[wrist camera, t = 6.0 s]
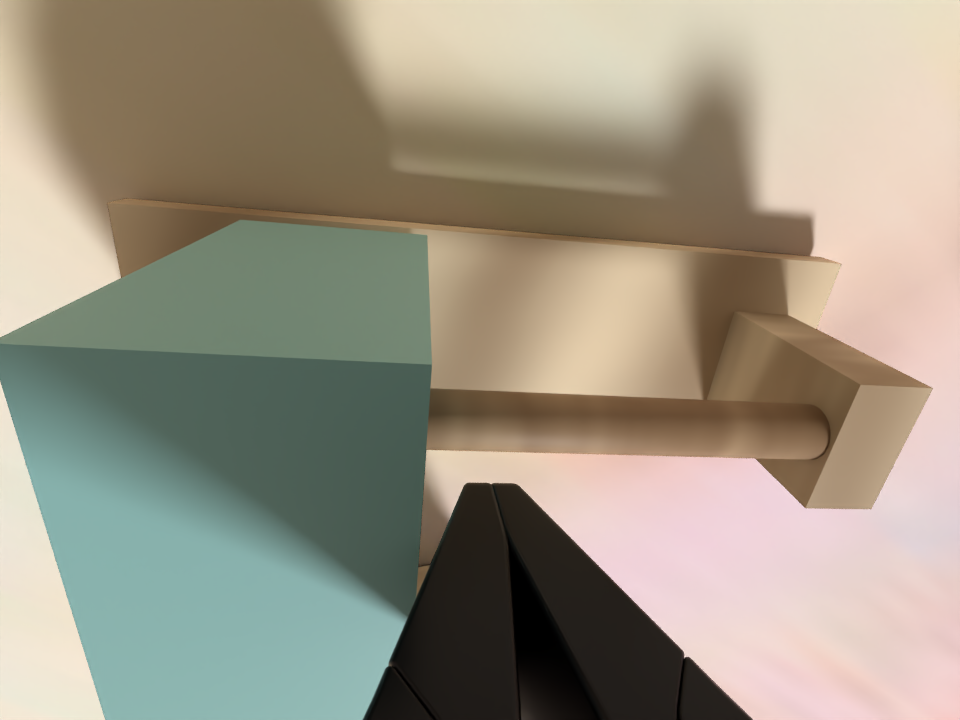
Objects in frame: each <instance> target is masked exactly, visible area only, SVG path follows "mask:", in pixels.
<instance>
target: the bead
mask: <svg viewBox="0 0 960 720" xmlns="http://www.w3.org/2000/svg"><path fill="white" fill-rule="evenodd" d="M431 372H432V352H431V324H430V297H429V270H428V243H427V235H422V234H410V233H398V232H385V231H373V230H361V229H349V228H336V227H324V226H312V225H300V224H287V223H275V222H263V221H251V220H239V221H237V222H235V223H233V224H231V225H229V226H227V227H224V228H222V229H220V230H218V231H216V232H214V233H212V234H210V235H208V236H206V237H204V238H202V239H200V240H198V241H196V242H194V243H192V244H190V245H188V246H186V247H184V248H182V249H180V250H178V251H176V252H174V253H171V254H169V255H167V256H165V257H163V258H161V259H159V260H157V261H155V262H153V263H151V264H149V265H147V266H145V267H143V268H141V269H139V270H137V271H135V272H133V273H131V274H129V275H127V276H125V277H123V278H121V279H119V280H116V281H114V282H112V283H110V284H108V285H106V286H104V287H102V288H100V289H98V290H96V291H94V292H92V293H90V294H88V295H86V296H84V297H82V298H80V299H78V300H76V301H74V302H72V303H70V304H68V305H66V306H64V307H61V308H59V309H57V310H55V311H53V312H51V313H49V314H47V315H45V316H43V317H41V318H39V319H37V320H35V321H33V322H31V323H29V324H27V325H25V326H23V327H21V328H19V329H17V330H15V331H13V332H11V333H9V334H6V335H4V336H2V337H0V381H1V385H2V388H3V391H4V394H5V398H6V401H7V404H8V407H9V411H10V414H11V417H12V420H13V423H14V427H15V430H16V433H17V436H18V440H19V443H20V446H21V449H22V452H23V456H24V459H25V462H26V465H27V469H28V472H29V475H30V478H31V481H32V485H33V488H34V491H35V494H36V498H37V501H38V504H39V507H40V510H41V514H42V517H43V520H44V523H45V527H46V530H47V533H48V536H49V540H50V543H51V546H52V549H53V552H54V556H55V559H56V562H57V565H58V569H59V572H60V575H61V578H62V581H63V585H64V588H65V591H66V594H67V598H68V601H69V604H70V607H71V610H72V614H73V617H74V620H75V623H76V627H77V630H78V633H79V636H80V639H81V643H82V646H83V649H84V652H85V656H86V659H87V662H88V665H89V668H90V672H91V675H92V678H93V681H94V685H95V688H96V691H97V694H98V698H99V701H100V704H101V707H102V710H103V714H104V717H105V720H363V717H364V715H365V713H366V711H367V709H368V707H369V705H370V703H371V700H372V698H373V696H374V694H375V691H376V689H377V687H378V684H379V682H380V680H381V677H382V675H383V673H384V670H385V668H386V667H388V663H389V660H390V657H391V655H392V653H393V650H394V648H395V646H396V643H397V641H398V639H399V636H400V634H401V632H402V629H403V627H404V625H405V622H406V620H407V618H408V615H409V613H410V611H411V608H412V606H413V604H414V601H415V599H416V593H417V579H418V564H419V549H420V534H421V519H422V505H423V490H424V475H425V460H426V446H427V431H428V416H429V401H430V387H431Z"/></svg>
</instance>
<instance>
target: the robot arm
mask: <svg viewBox="0 0 960 720" xmlns="http://www.w3.org/2000/svg"><path fill="white" fill-rule="evenodd" d="M363 720H753V719H752V718H751V717H750V716H749V715H748V714H747V713H746V712H745V711H744V710H743V709H742V708H741V707H740V706H738V705H737V704H736V703H735V702H734V701H733V700H732V699H731V698H730V697H729V696H728V695H727V694H726V693H725V692H724V691H723V690H722V689H721V688H720V687H719V686H718V685H717V684H716V683H715V682H714V681H713V680H712V679H711V678H710V677H709V676H708V675H707V674H706V673H705V672H704V671H703V670H702V669H701V668H700V667H699V666H698V665H697V664H696V663H695V662H694V661H693V660H692V659H691V658H689V657H685V658H684V652H683V650H682V649H681V648H680V647H679V646H678V645H677V644H676V643H675V642H674V641H673V640H672V639H671V638H670V637H669V636H668V635H667V634H666V633H665V632H664V631H663V630H662V629H661V628H660V627H659V626H658V625H657V624H656V623H655V622H654V621H653V620H652V619H651V618H650V617H649V616H648V615H647V614H646V613H645V612H644V611H643V610H642V609H641V608H640V607H639V606H638V605H637V604H636V603H635V602H634V601H633V600H632V599H631V598H630V597H629V596H628V595H627V594H626V593H625V592H624V591H623V590H622V589H621V588H620V587H619V586H618V585H617V584H616V583H615V582H614V581H613V580H612V579H611V578H610V577H609V576H608V575H607V574H606V573H605V572H604V571H603V570H602V569H601V568H600V567H599V566H598V565H597V564H596V563H595V562H594V561H593V560H592V559H591V558H590V557H589V556H588V555H587V554H586V553H585V552H584V551H583V550H582V549H581V548H580V547H579V546H578V545H577V544H576V543H575V542H574V541H573V540H572V539H571V538H570V537H569V536H568V535H567V534H566V533H565V532H564V531H563V530H562V529H561V528H560V527H559V526H558V525H557V524H556V523H555V522H554V521H553V520H552V519H551V518H550V517H549V516H548V515H547V514H546V513H545V512H544V511H543V510H542V508H541V507H540V506H539V505H538V504H537V503H536V502H535V501H534V500H533V499H532V498H531V497H530V496H529V495H528V494H527V493H526V492H525V491H524V490H523V489H522V488H521V487H520V486H518V485H517V484H513V483H493V484H489V483H467V484H465V485H464V487H463V489H462V492H461V494H460V496H459V499H458V501H457V503H456V506H455V508H454V510H453V513H452V515H451V517H450V520H449V522H448V524H447V527H446V529H445V531H444V534H443V536H442V538H441V541H440V543H439V545H438V548H437V550H436V552H435V555H434V557H433V559H432V562H431V564H430V566H429V569H428V571H427V573H426V576H425V578H424V580H423V583H422V585H421V587H420V590H419V592H418V594H417V597H416V599H415V601H414V604H413V606H412V608H411V611H410V613H409V615H408V618H407V620H406V622H405V625H404V627H403V629H402V632H401V634H400V636H399V639H398V641H397V643H396V646H395V648H394V650H393V653H392V655H391V657H390V660H389V663H388V667H386V668H385V670H384V673H383V675H382V677H381V680H380V682H379V684H378V687H377V689H376V691H375V694H374V696H373V698H372V700H371V703H370V705H369V707H368V709H367V711H366V713H365V715H364V717H363Z"/></svg>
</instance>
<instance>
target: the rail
mask: <svg viewBox="0 0 960 720" xmlns="http://www.w3.org/2000/svg"><path fill="white" fill-rule="evenodd" d="M107 205H108V210H109V215H110V221H111V226H112V231H113V237H114V242H115V247H116V253H117V258H118V264H119V269H120V274H121V278H123V277H125V276H127V275H129V274H131V273H133V272H135V271H137V270H139V269H141V268H143V267H145V266H147V265H149V264H151V263H153V262H155V261H157V260H159V259H161V258H163V257H165V256H167V255H169V254H171V253H174V252H176V251H178V250H180V249H182V248H184V247H186V246H188V245H190V244H192V243H194V242H196V241H198V240H200V239H202V238H204V237H206V236H208V235H210V234H212V233H214V232H216V231H218V230H220V229H222V228H224V227H227V226H229V225H231V224H233V223H235V222H237V221H239V220H251V221H263V222H275V223H287V224H300V225H312V226H324V227H336V228H349V229H361V230H373V231H385V232H398V233H410V234H422V235H427V243H428V270H429V297H430V324H431V352H432V372H431V387H430V401H429V416H428V431H427V446H426V450H455V451H493V452H532V453H570V454H608V455H646V456H684V457H723V458H755V459H756V460H757V461H758V462H759V463H760V464H761V465H762V466H763V467H764V468H765V469H766V470H767V471H768V472H769V473H770V474H771V475H772V476H773V477H774V478H776V479H777V480H778V481H779V482H780V483H781V484H782V485H783V486H784V487H785V488H786V489H787V490H788V491H789V492H790V493H791V494H792V495H793V496H794V497H795V498H796V499H797V500H798V501H799V502H800V503H801V504H802V505H803V506H804V507H805V508H825V509H871V508H872V506H873V505H874V503H875V501H876V499H877V497H878V495H879V493H880V491H881V489H882V487H883V485H884V483H885V481H886V479H887V477H888V475H889V473H890V471H891V469H892V467H893V465H894V463H895V461H896V460H897V458H898V456H899V454H900V452H901V450H902V448H903V446H904V444H905V442H906V440H907V438H908V436H909V434H910V432H911V430H912V428H913V426H914V424H915V422H916V420H917V418H918V417H919V415H920V413H921V411H922V409H923V407H924V405H925V403H926V401H927V399H928V397H929V395H930V393H931V391H932V389H933V388H931V387H929V386H927V385H925V384H923V383H921V382H920V381H918V380H916V379H914V378H912V377H910V376H908V375H906V374H904V373H902V372H900V371H898V370H896V369H894V368H892V367H890V366H888V365H886V364H884V363H882V362H880V361H878V360H876V359H874V358H872V357H870V356H868V355H866V354H864V353H862V352H860V351H858V350H856V349H854V348H852V347H851V346H849V345H847V344H845V343H843V342H841V341H839V340H837V339H835V338H833V337H831V336H829V335H827V334H825V333H823V332H821V331H819V330H817V329H816V328H817V326H818V323H819V321H820V318H821V316H822V313H823V310H824V308H825V305H826V303H827V300H828V298H829V295H830V292H831V290H832V287H833V285H834V282H835V280H836V277H837V274H838V272H839V269H840V267H841V264H840V263H837V262H834V261H831V260H828V259H825V258H822V257H813V256H801V255H790V254H778V253H766V252H754V251H742V250H730V249H719V248H707V247H695V246H683V245H671V244H660V243H648V242H636V241H624V240H612V239H600V238H589V237H577V236H565V235H553V234H541V233H530V232H518V231H506V230H494V229H482V228H470V227H459V226H447V225H435V224H423V223H411V222H400V221H388V220H376V219H364V218H352V217H340V216H329V215H317V214H305V213H293V212H281V211H270V210H258V209H246V208H234V207H222V206H210V205H199V204H187V203H175V202H163V201H151V200H140V199H128V198H126V199H122V200H117V201H113V202H109V203H107Z"/></svg>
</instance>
